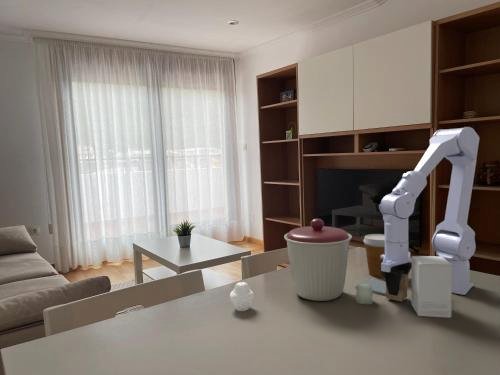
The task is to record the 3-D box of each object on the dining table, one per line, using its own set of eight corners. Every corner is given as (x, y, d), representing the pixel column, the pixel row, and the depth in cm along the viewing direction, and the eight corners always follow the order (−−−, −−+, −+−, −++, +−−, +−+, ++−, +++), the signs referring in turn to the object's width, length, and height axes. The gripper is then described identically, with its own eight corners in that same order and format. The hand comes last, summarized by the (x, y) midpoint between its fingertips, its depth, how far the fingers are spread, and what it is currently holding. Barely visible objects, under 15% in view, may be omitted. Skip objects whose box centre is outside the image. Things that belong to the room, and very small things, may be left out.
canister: (277, 302, 99) (274, 223, 97) (295, 280, 115) (293, 212, 114) (347, 311, 92) (346, 226, 90) (356, 286, 109) (355, 214, 107)
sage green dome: (360, 297, 101) (360, 282, 100) (375, 300, 98) (375, 285, 98) (353, 301, 98) (353, 286, 97) (368, 305, 95) (368, 290, 95)
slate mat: (369, 280, 114) (369, 278, 114) (399, 286, 108) (399, 284, 108) (355, 288, 107) (355, 286, 107) (386, 295, 101) (386, 293, 101)
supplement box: (452, 318, 86) (452, 264, 85) (417, 316, 88) (417, 263, 87) (442, 305, 93) (443, 255, 92) (410, 304, 95) (410, 255, 94)
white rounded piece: (259, 307, 96) (258, 281, 95) (242, 315, 91) (241, 287, 91) (242, 302, 100) (241, 276, 100) (225, 309, 96) (224, 282, 95)
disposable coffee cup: (361, 269, 124) (361, 233, 123) (391, 269, 123) (391, 233, 122) (366, 279, 115) (365, 240, 114) (398, 279, 113) (398, 240, 112)
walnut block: (392, 293, 101) (391, 271, 100) (407, 296, 98) (407, 274, 98) (386, 297, 98) (385, 275, 98) (401, 301, 95) (401, 278, 95)
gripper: (392, 233, 105) (392, 281, 106) (369, 244, 94) (369, 296, 95) (418, 236, 100) (418, 286, 101) (397, 248, 89) (397, 303, 91)
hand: (396, 291), depth 98 cm, fingers closed on walnut block, 4 cm apart
